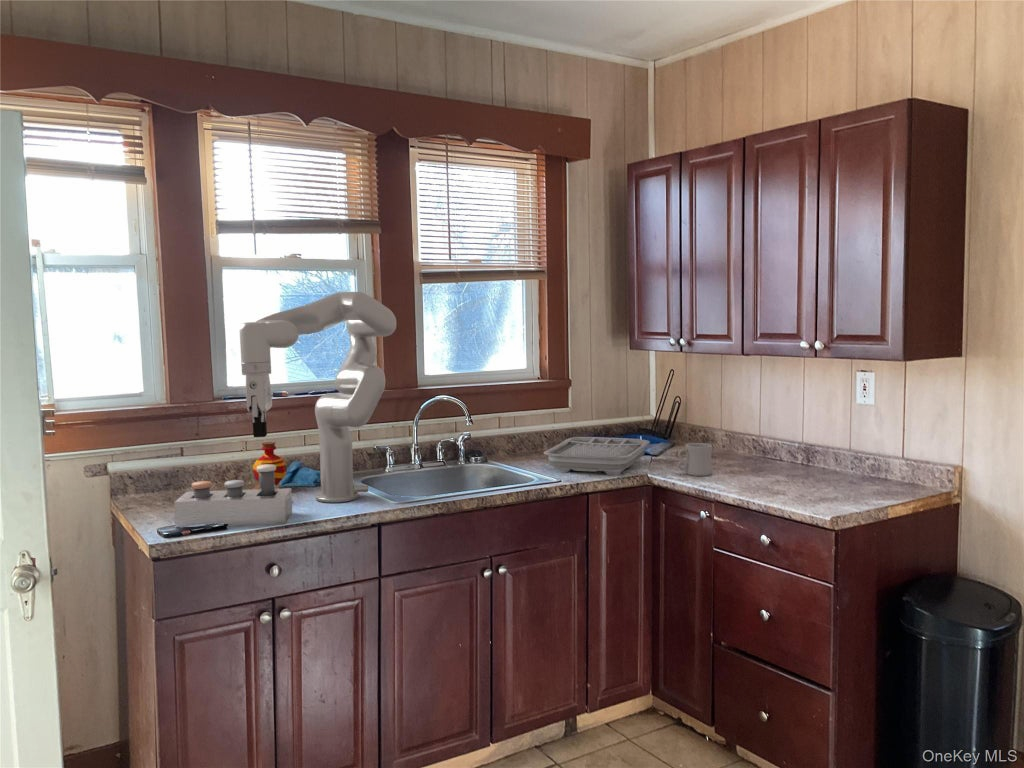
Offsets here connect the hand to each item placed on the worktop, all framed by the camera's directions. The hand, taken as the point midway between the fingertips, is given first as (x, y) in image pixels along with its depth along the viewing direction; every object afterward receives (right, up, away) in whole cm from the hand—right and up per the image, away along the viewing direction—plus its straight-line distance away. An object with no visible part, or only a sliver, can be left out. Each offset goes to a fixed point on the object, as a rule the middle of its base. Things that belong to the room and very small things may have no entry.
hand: (260, 436), depth 220 cm
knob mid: (-7, -20, +1) cm, 21 cm away
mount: (-7, -23, +1) cm, 24 cm away
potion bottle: (-8, -20, +38) cm, 43 cm away
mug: (+129, -17, +57) cm, 142 cm away
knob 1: (-15, -20, 0) cm, 25 cm away
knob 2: (+1, -16, +1) cm, 16 cm away
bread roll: (-5, -21, +20) cm, 30 cm away
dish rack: (+98, -16, +72) cm, 123 cm away
